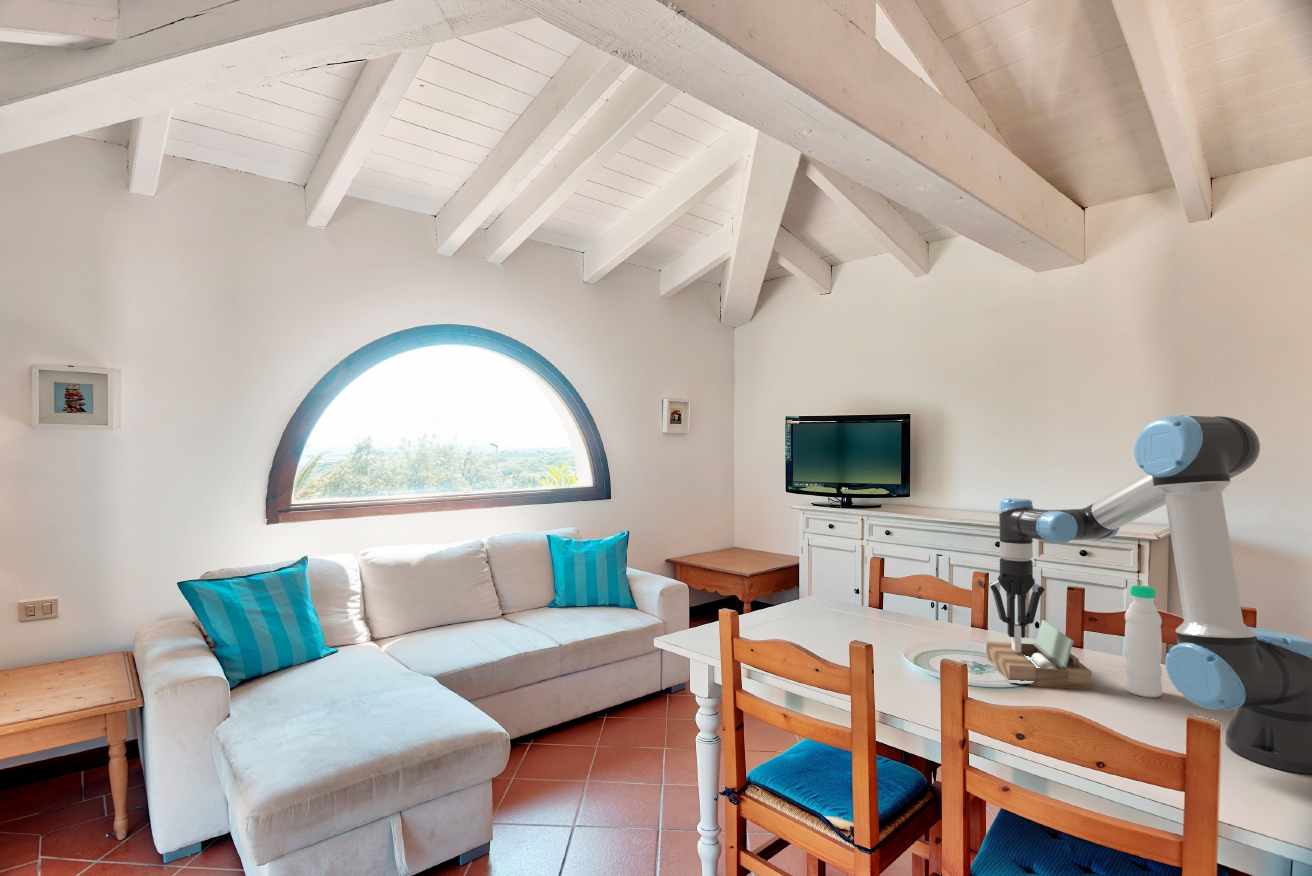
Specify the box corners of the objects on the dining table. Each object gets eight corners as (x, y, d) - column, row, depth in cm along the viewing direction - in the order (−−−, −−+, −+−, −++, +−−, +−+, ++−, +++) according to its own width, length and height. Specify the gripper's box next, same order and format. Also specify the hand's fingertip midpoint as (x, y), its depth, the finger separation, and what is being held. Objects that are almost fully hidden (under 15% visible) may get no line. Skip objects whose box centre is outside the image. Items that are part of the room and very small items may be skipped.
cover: (1060, 669, 161) (1064, 670, 161) (1068, 639, 160) (1073, 641, 160) (1032, 645, 179) (1036, 646, 179) (1040, 619, 179) (1044, 620, 179)
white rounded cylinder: (1059, 681, 163) (1062, 669, 163) (1046, 677, 164) (1049, 666, 164) (1040, 664, 176) (1043, 653, 176) (1028, 660, 177) (1031, 649, 177)
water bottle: (1168, 699, 152) (1168, 590, 153) (1133, 697, 154) (1133, 589, 154) (1152, 688, 159) (1151, 584, 159) (1119, 686, 161) (1118, 583, 161)
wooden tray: (1092, 690, 158) (1092, 663, 158) (1010, 684, 162) (1010, 658, 162) (1058, 661, 179) (1058, 638, 179) (985, 656, 183) (985, 634, 183)
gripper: (1038, 556, 174) (1038, 647, 174) (984, 555, 177) (985, 644, 176) (1049, 561, 167) (1049, 656, 166) (992, 559, 169) (993, 652, 169)
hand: (1016, 649), depth 171 cm, fingers closed
